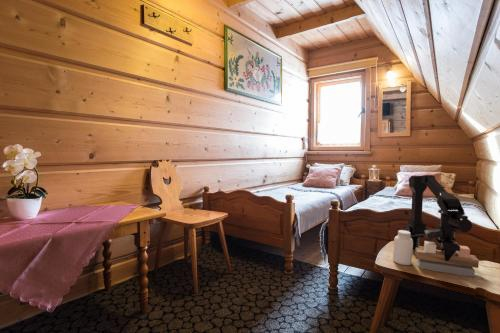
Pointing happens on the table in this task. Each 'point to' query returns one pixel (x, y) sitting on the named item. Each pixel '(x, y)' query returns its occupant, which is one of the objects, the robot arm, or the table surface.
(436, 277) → the table surface
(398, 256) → the pill bottle
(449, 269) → the block
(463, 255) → the block
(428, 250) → the block
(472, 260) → the tan long bar
